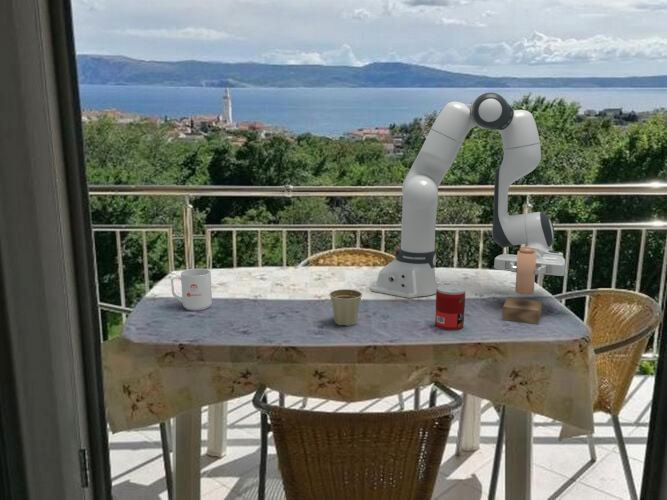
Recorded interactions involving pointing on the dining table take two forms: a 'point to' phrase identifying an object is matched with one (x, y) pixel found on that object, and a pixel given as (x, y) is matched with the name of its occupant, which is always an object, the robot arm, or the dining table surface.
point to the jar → (525, 271)
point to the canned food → (450, 307)
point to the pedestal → (522, 310)
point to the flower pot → (345, 306)
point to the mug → (195, 289)
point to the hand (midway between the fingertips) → (525, 270)
